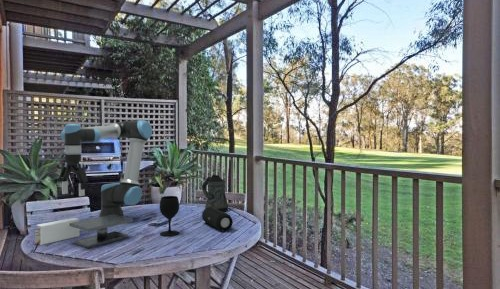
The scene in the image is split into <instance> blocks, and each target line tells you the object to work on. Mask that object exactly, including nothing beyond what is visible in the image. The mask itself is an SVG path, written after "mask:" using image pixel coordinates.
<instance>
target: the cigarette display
mask: <svg viewBox="0 0 500 289" xmlns="http://www.w3.org/2000/svg"><path fill="white" fill-rule="evenodd" d="M78 221H80V218H76V217H70V218H66V219H65V218H64V219H59V220H55V221H49V222H43V223H38V224H36V226H37V227H39V229H35V230H34V235H35V236H34V240H35V243H34V245H40V246H43V245H48V244H52V243H56V242H61V241H66V240H69V239H73V238H78V237H80V236H81V235H80V233H81V232H80V229H78V228H75V227H71V226H69V223H73V222H78Z"/></svg>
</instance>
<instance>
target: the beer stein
mask: <svg viewBox="0 0 500 289" xmlns="http://www.w3.org/2000/svg"><path fill="white" fill-rule="evenodd" d="M225 184H226V181H225V180H224V179H223V178H222V177H220V175H217V174H214V175H213V174H212V175H211V176H208V177H206V179H205V180H204V181H203V182H202V185H201V191H202V192H203V193H202V194H203V195H204V196H205V198H206V203H205V205H204V209H206V208H208V207H213V208H215V209H218V210H220V211H222V212H224V213H227V212H228V211H229V203H228V200H227V197H226V189H225ZM207 186H208V189H207Z"/></svg>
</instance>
